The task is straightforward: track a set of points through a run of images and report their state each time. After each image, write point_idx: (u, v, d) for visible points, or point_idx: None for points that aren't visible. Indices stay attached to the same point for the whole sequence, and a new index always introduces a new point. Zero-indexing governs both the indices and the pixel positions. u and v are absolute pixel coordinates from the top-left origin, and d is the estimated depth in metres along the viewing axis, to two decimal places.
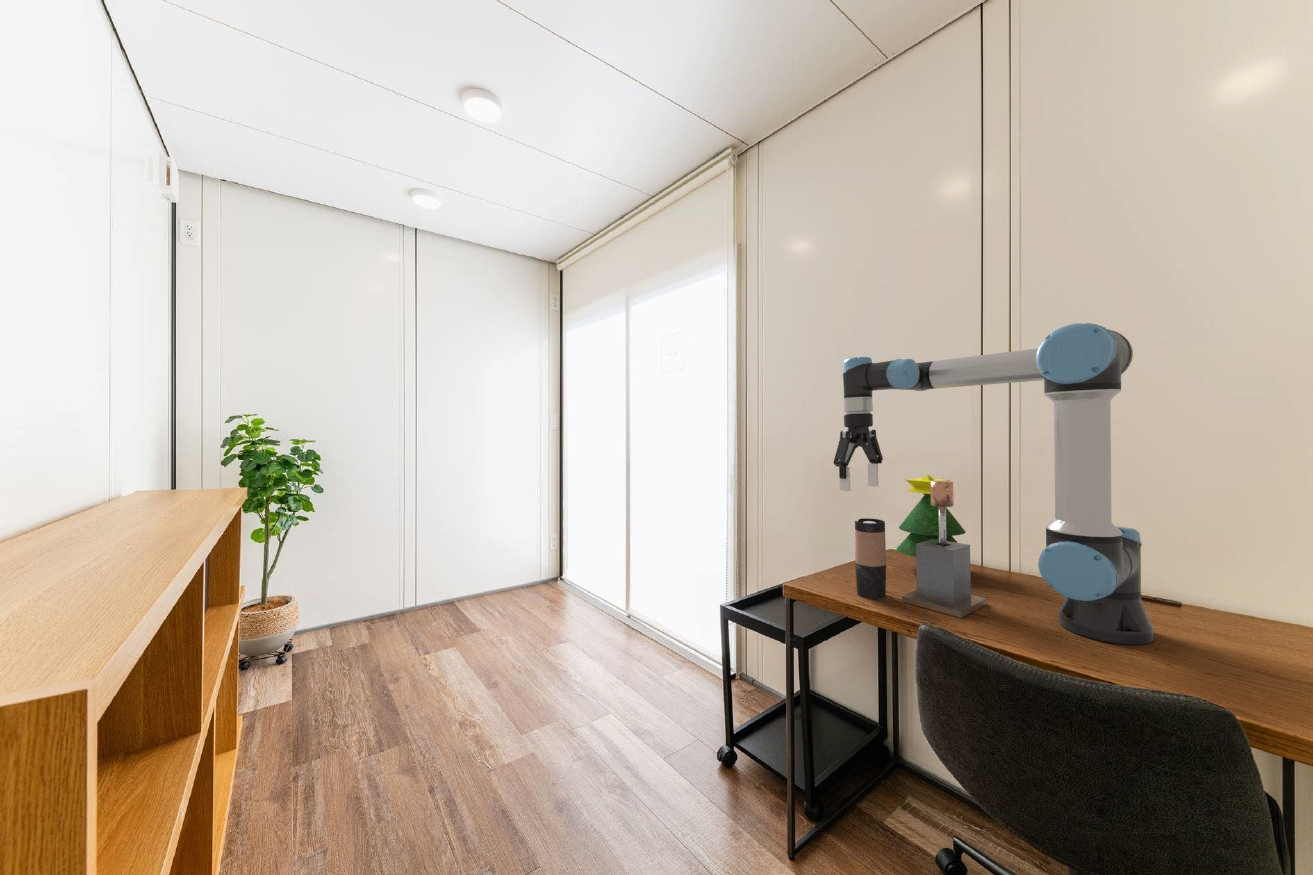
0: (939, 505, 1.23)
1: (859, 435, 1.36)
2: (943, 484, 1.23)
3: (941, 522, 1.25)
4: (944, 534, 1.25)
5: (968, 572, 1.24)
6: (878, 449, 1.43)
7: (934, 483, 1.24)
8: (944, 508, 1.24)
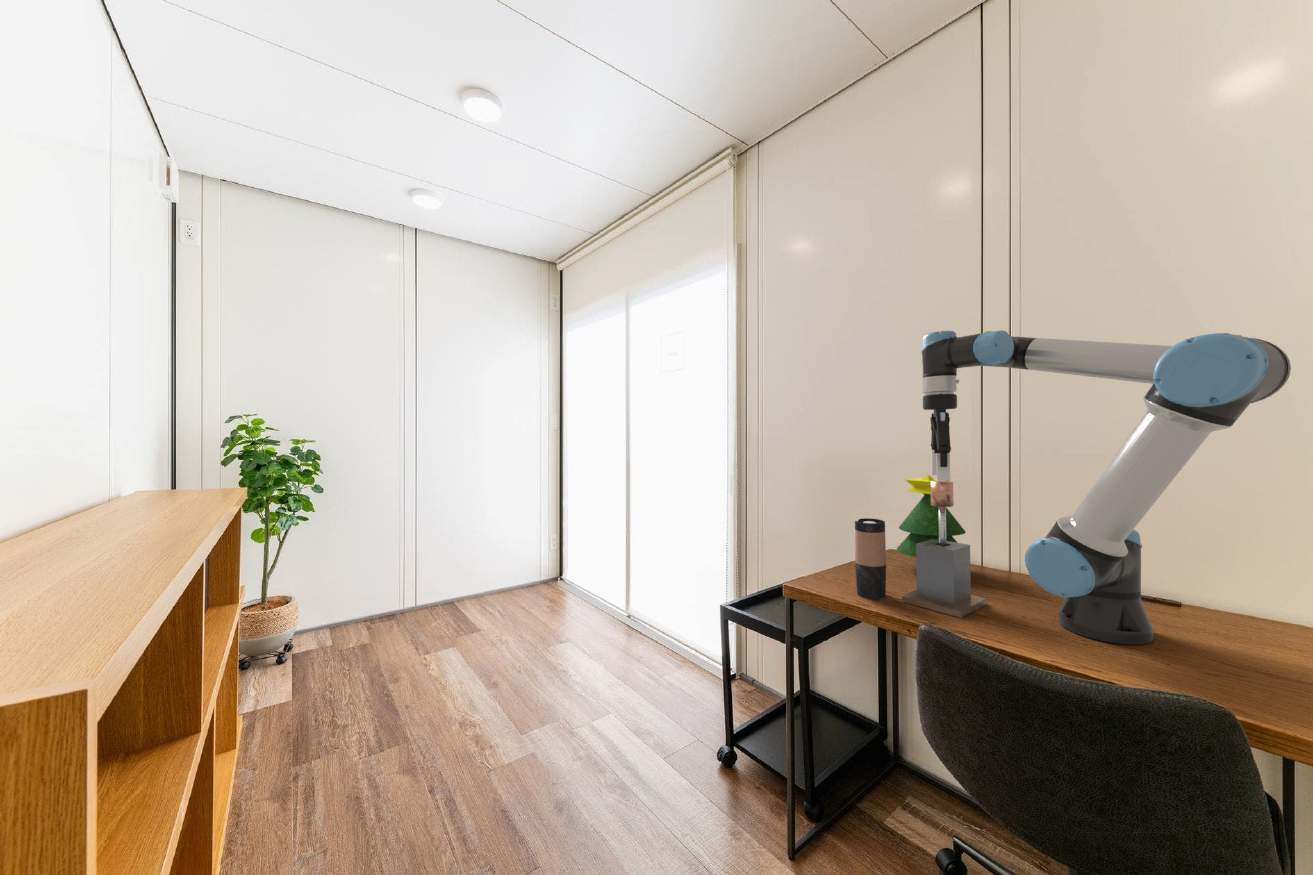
0: (939, 505, 1.23)
1: None
2: (943, 484, 1.23)
3: (941, 522, 1.25)
4: (944, 534, 1.25)
5: (968, 572, 1.24)
6: (937, 436, 1.18)
7: (934, 483, 1.24)
8: (944, 508, 1.24)
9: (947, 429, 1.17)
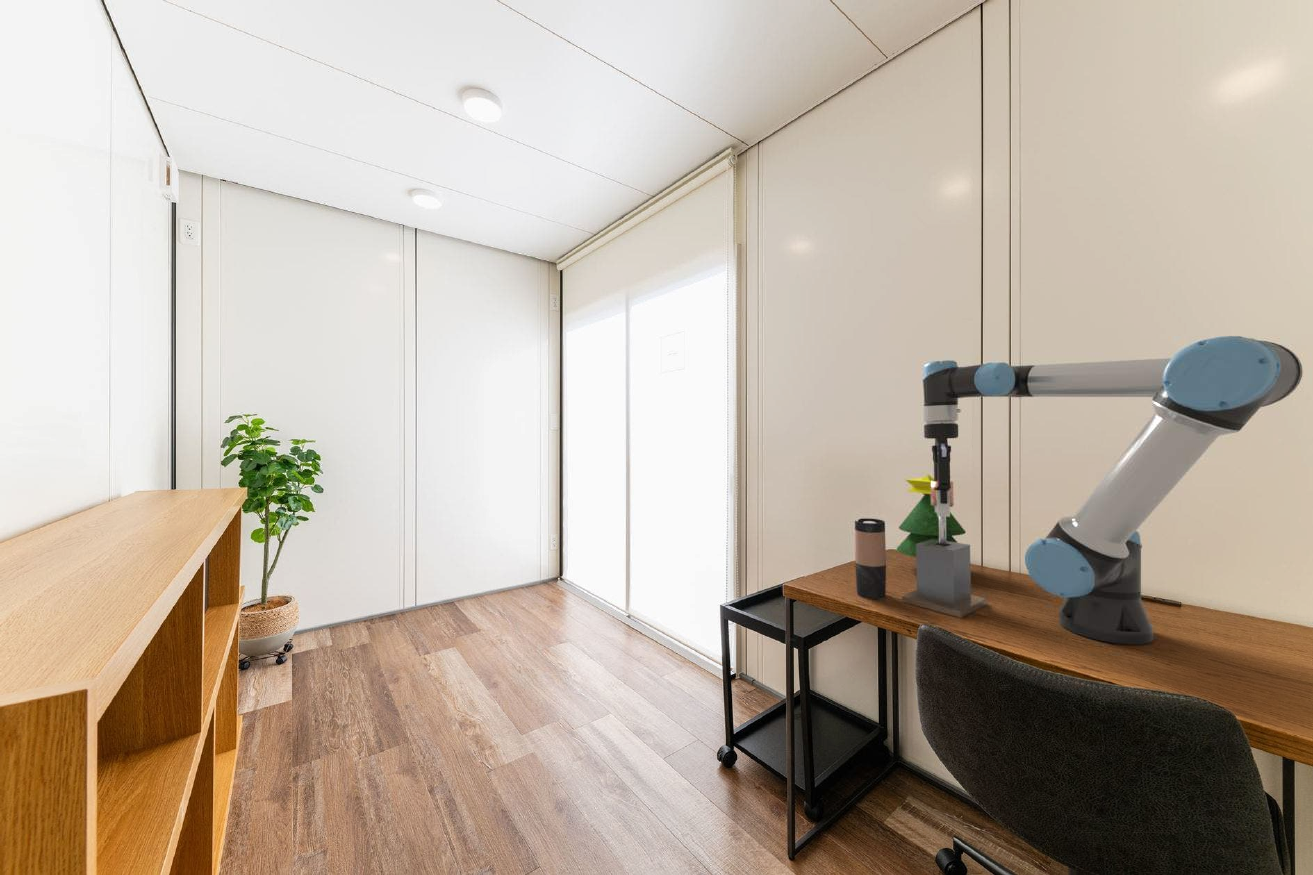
0: None
1: None
2: None
3: (941, 522, 1.25)
4: (944, 534, 1.25)
5: (968, 572, 1.24)
6: (938, 473, 1.21)
7: (934, 483, 1.24)
8: None
9: (948, 467, 1.19)
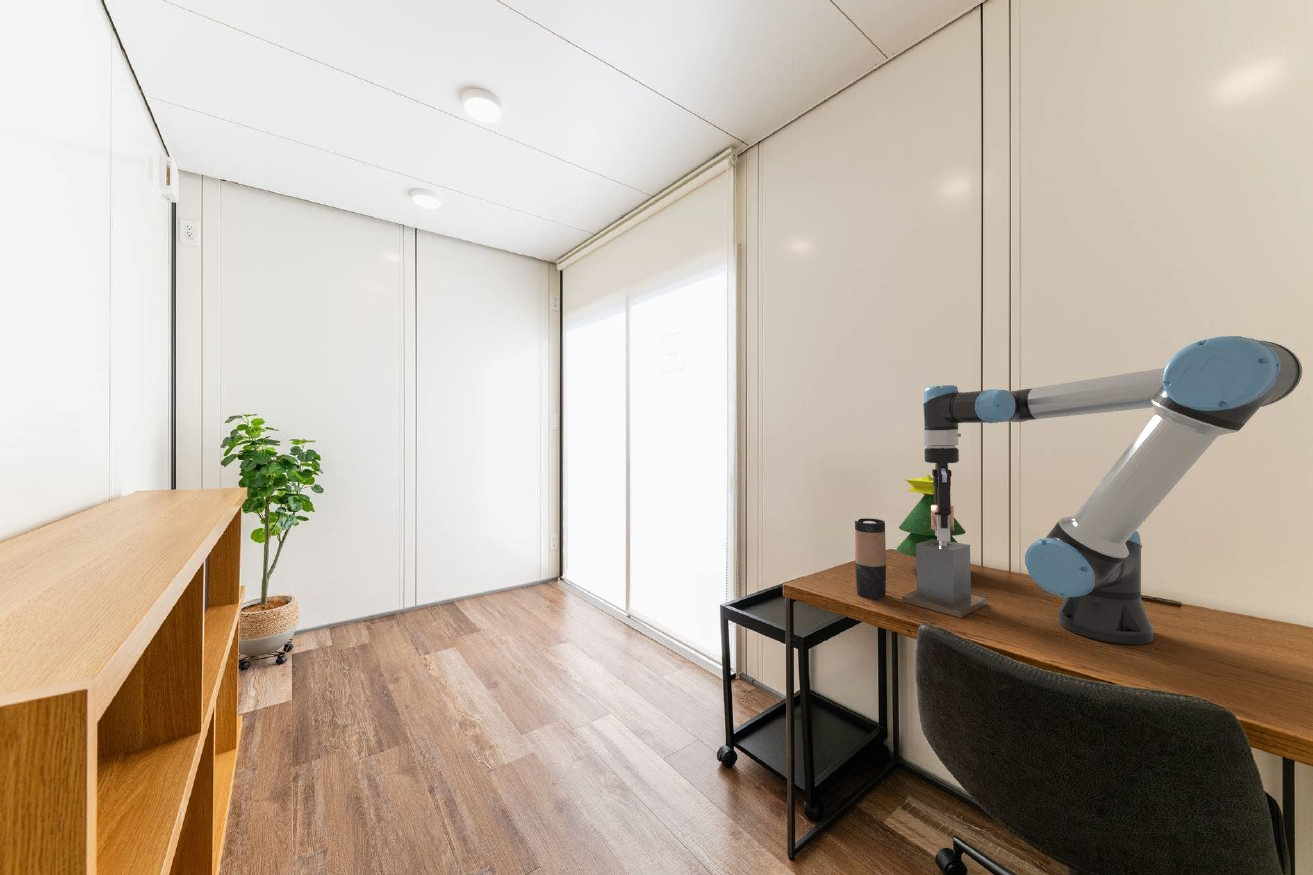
0: None
1: None
2: None
3: None
4: None
5: (968, 572, 1.24)
6: (938, 498, 1.21)
7: (934, 507, 1.24)
8: None
9: (948, 492, 1.19)
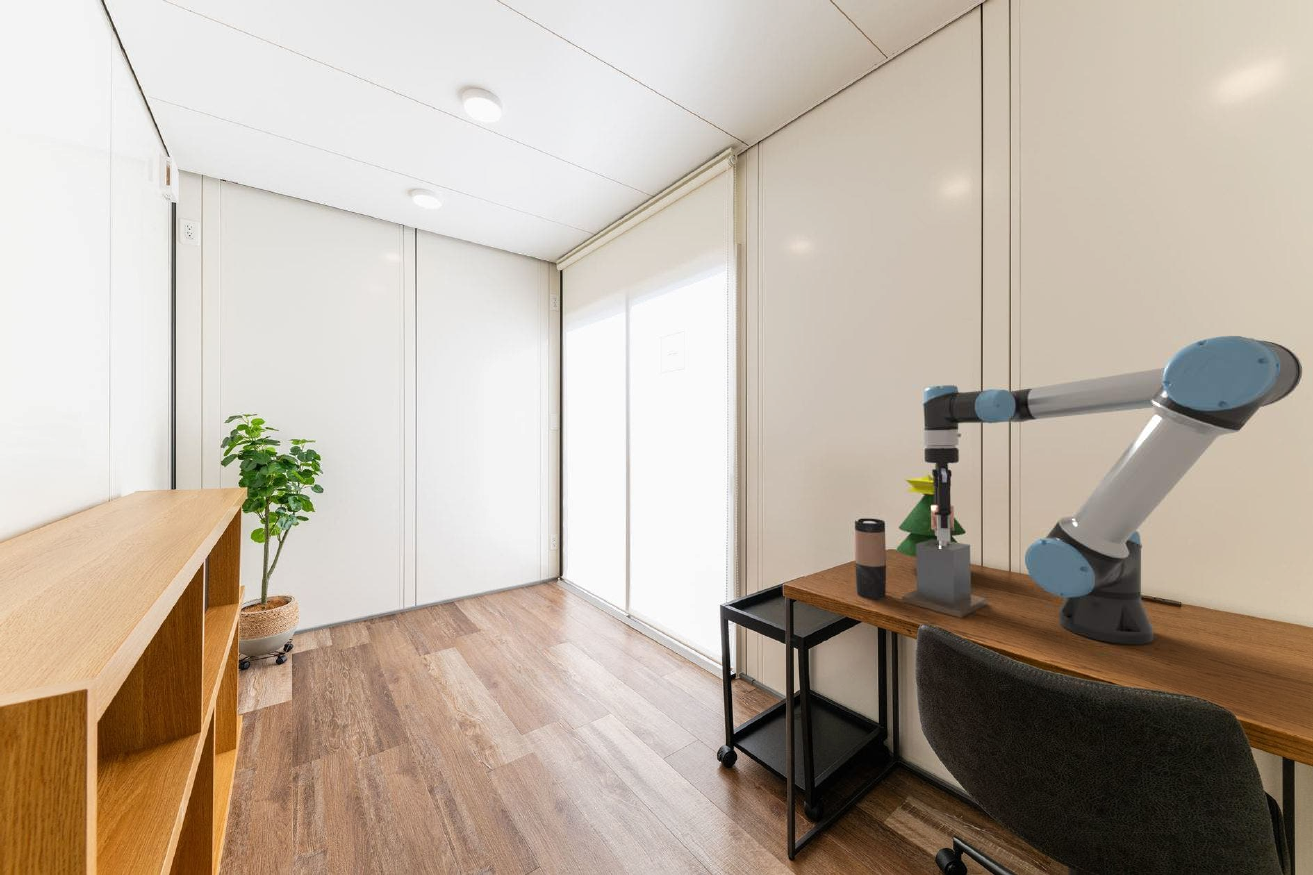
0: None
1: None
2: None
3: None
4: None
5: (968, 572, 1.24)
6: (938, 498, 1.21)
7: (934, 507, 1.24)
8: None
9: (948, 492, 1.19)
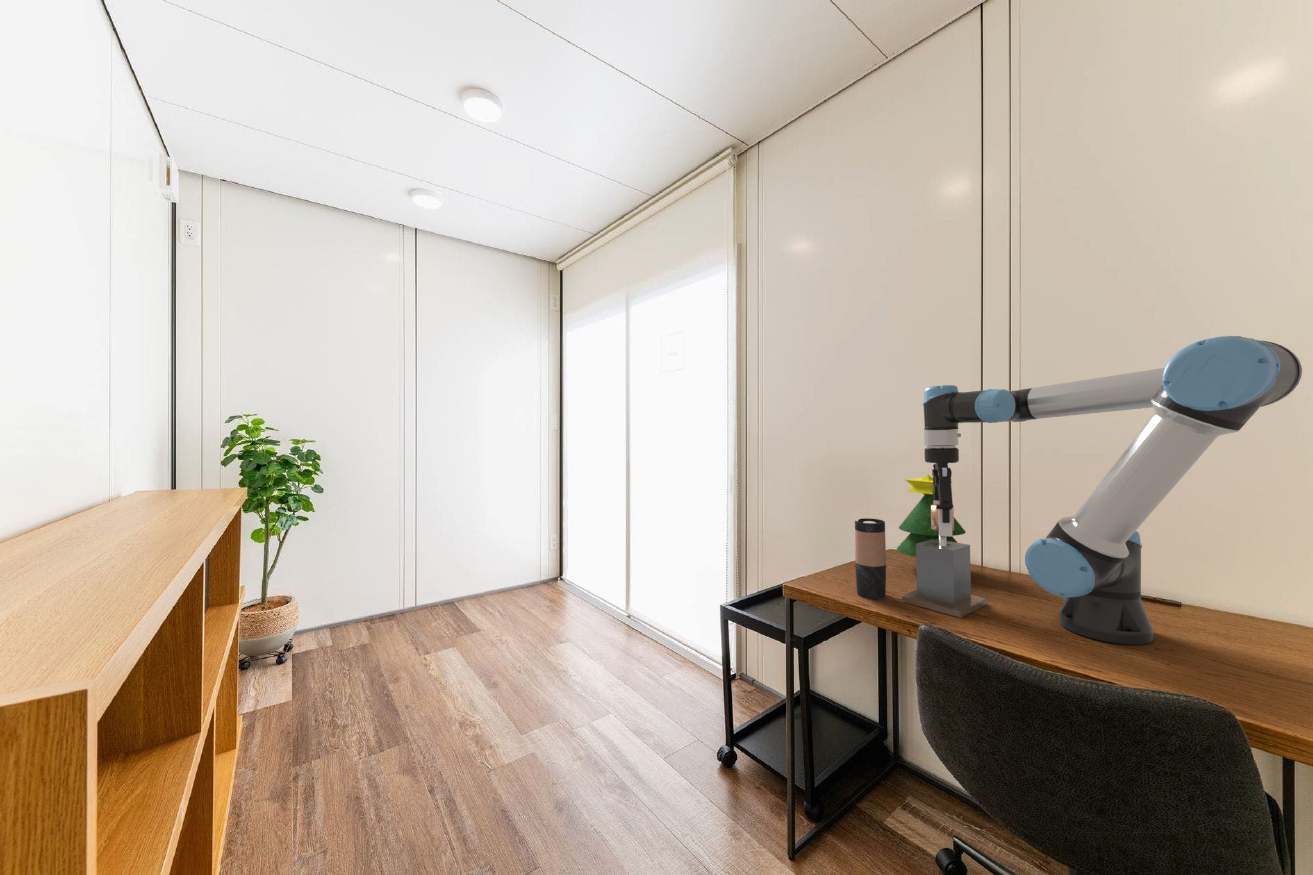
0: None
1: None
2: None
3: None
4: None
5: (968, 572, 1.24)
6: (939, 492, 1.18)
7: (934, 507, 1.24)
8: None
9: (949, 485, 1.17)
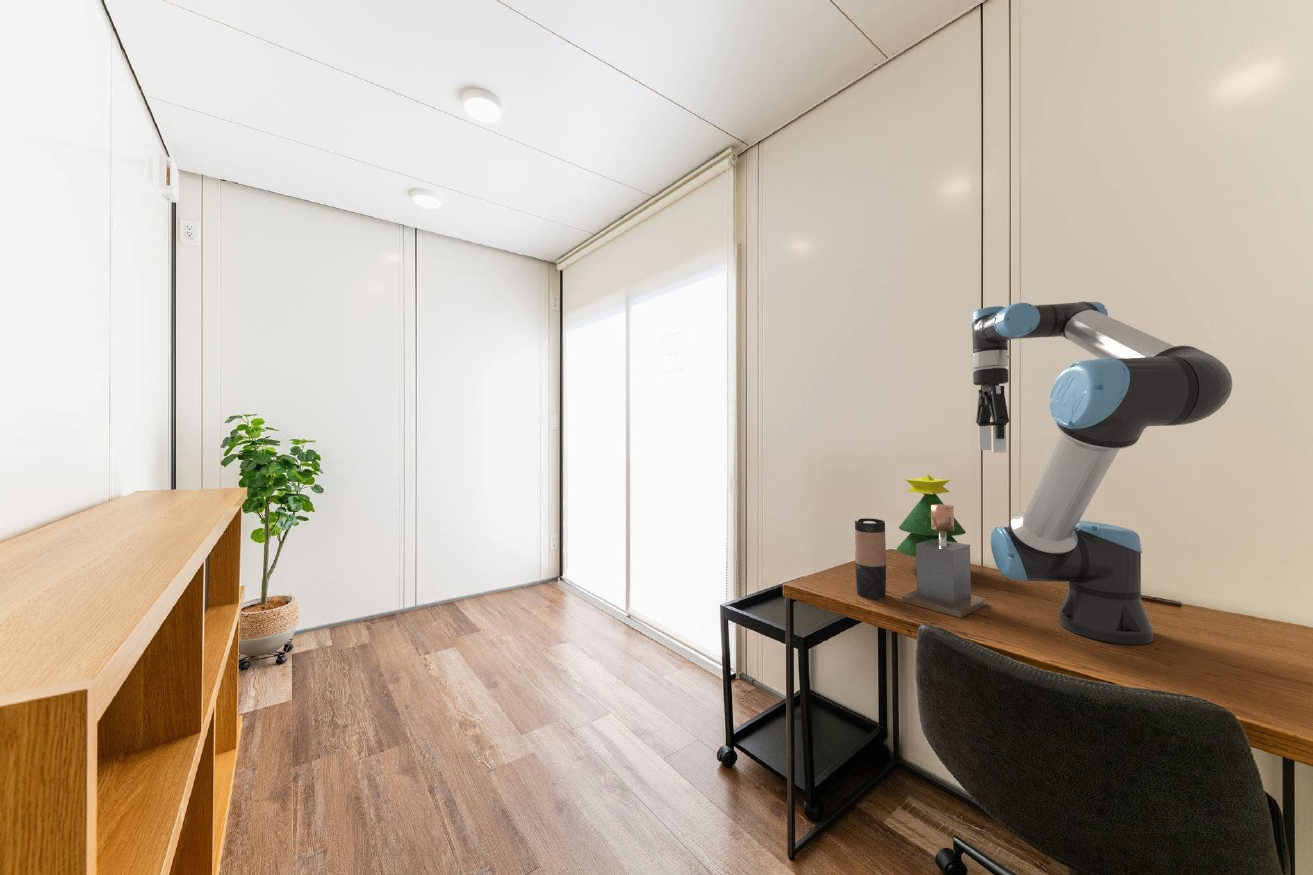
0: (939, 529, 1.23)
1: None
2: (943, 509, 1.23)
3: None
4: None
5: (968, 572, 1.24)
6: (994, 409, 1.20)
7: (934, 507, 1.24)
8: (944, 532, 1.25)
9: (1004, 401, 1.19)
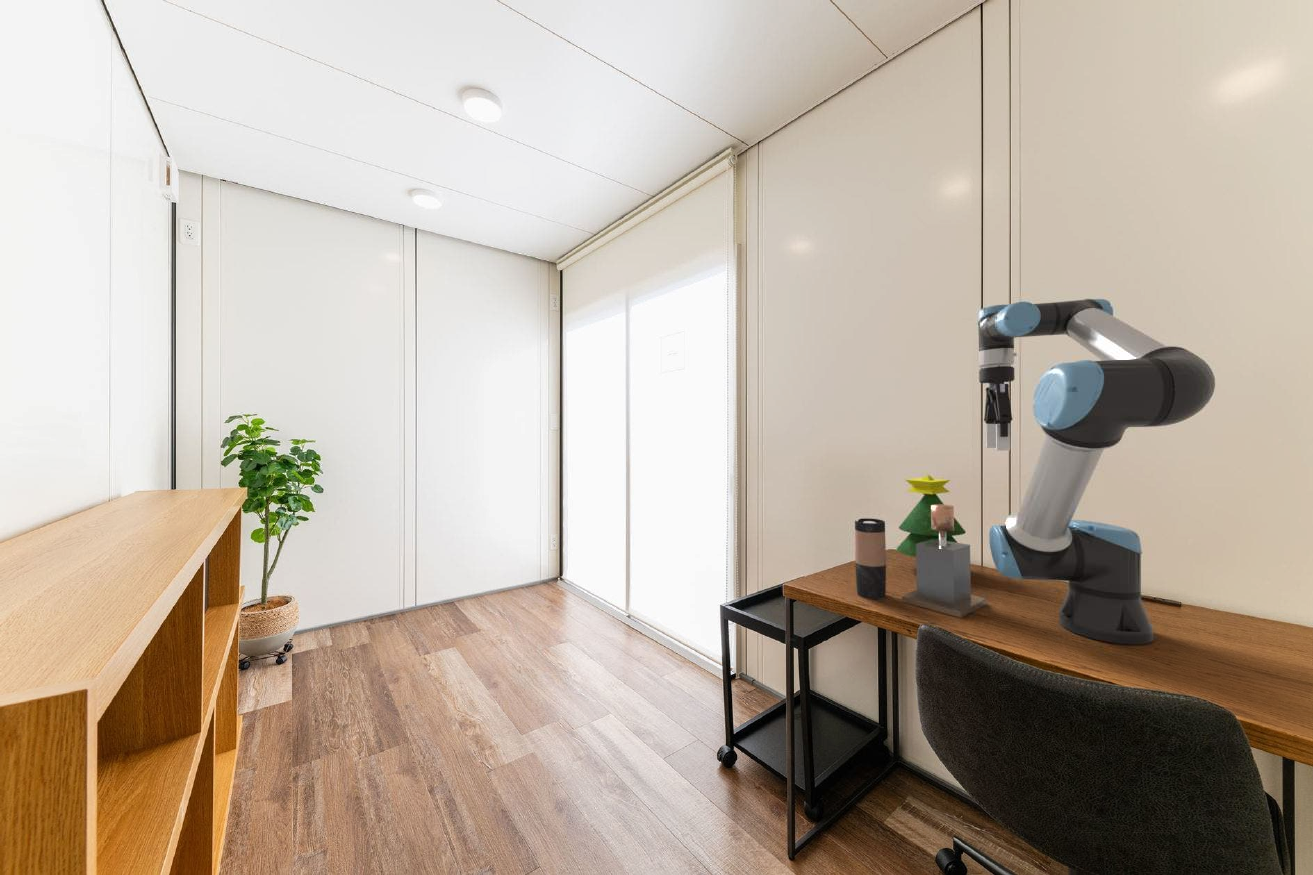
0: (939, 529, 1.23)
1: None
2: (943, 509, 1.23)
3: None
4: None
5: (968, 572, 1.24)
6: (998, 407, 1.21)
7: (934, 507, 1.24)
8: (944, 532, 1.25)
9: (1007, 400, 1.20)
